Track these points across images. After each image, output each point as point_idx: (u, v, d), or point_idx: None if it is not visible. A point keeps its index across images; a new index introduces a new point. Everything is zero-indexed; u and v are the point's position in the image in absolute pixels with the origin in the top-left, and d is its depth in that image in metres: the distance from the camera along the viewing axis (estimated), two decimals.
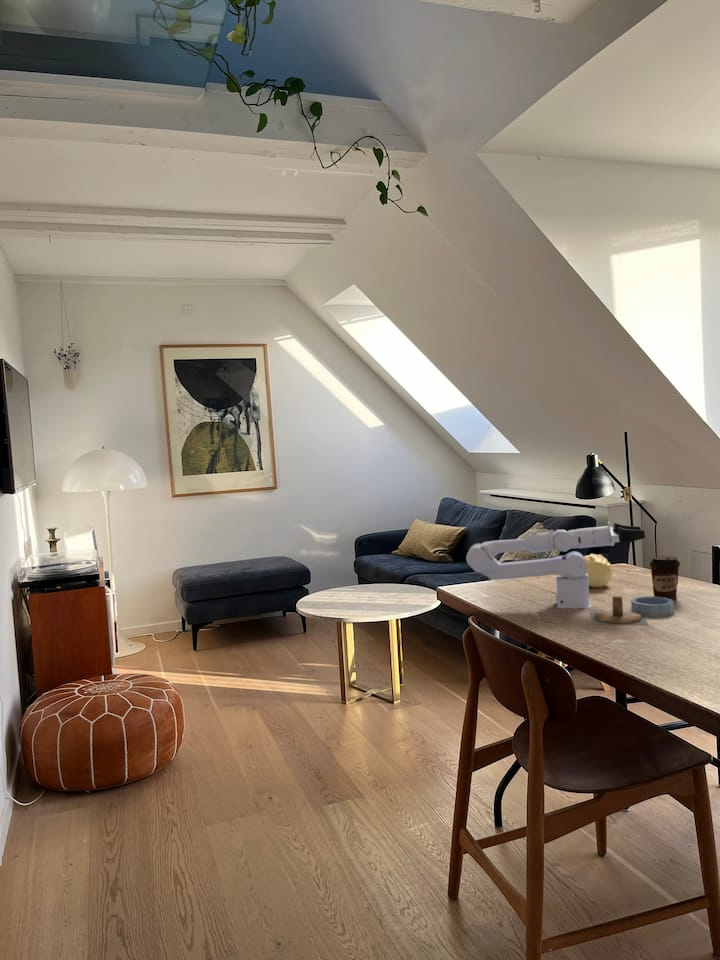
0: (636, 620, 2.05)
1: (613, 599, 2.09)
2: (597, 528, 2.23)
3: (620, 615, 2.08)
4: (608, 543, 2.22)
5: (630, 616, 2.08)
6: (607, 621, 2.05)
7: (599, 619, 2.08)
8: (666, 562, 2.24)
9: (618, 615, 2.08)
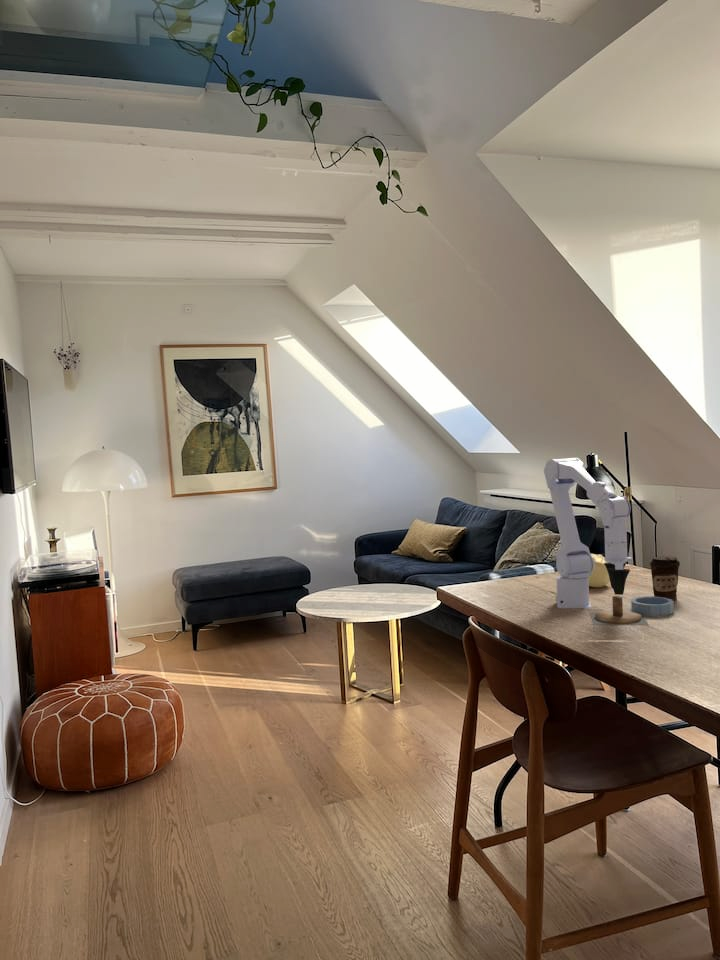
0: (636, 620, 2.05)
1: (613, 599, 2.09)
2: (626, 546, 2.07)
3: (620, 615, 2.08)
4: (609, 556, 2.07)
5: (630, 616, 2.08)
6: (607, 621, 2.05)
7: (599, 619, 2.08)
8: (666, 562, 2.24)
9: (618, 615, 2.08)
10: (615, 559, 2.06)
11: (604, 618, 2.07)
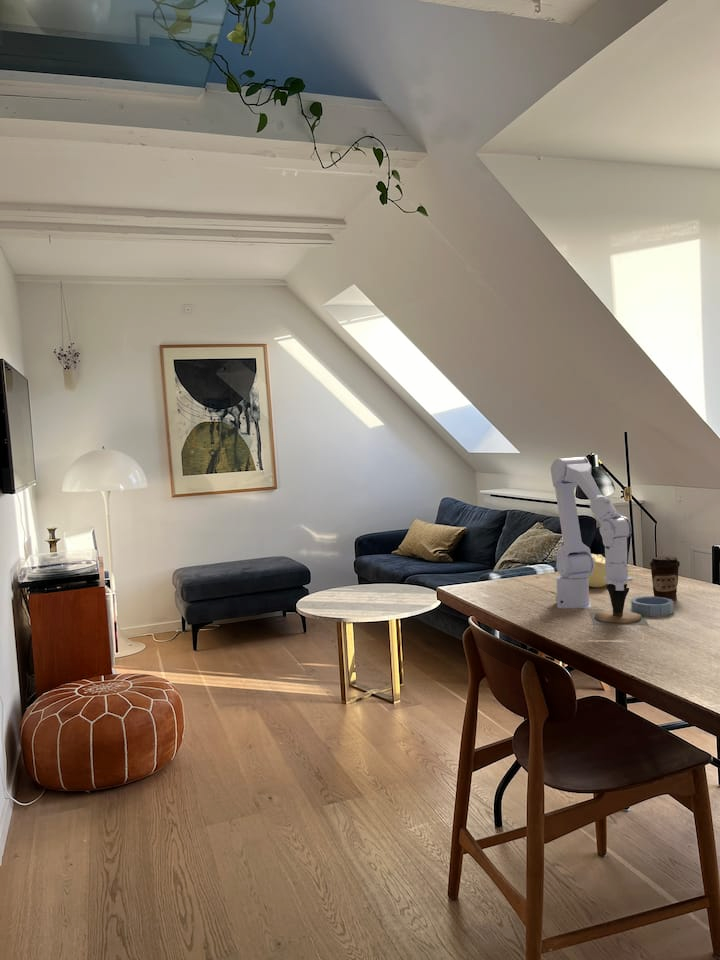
0: (636, 620, 2.05)
1: None
2: (626, 567, 2.07)
3: (620, 615, 2.08)
4: (609, 576, 2.07)
5: (630, 616, 2.08)
6: (607, 621, 2.05)
7: (599, 619, 2.08)
8: (666, 562, 2.24)
9: (618, 615, 2.08)
10: (616, 579, 2.06)
11: (604, 618, 2.07)
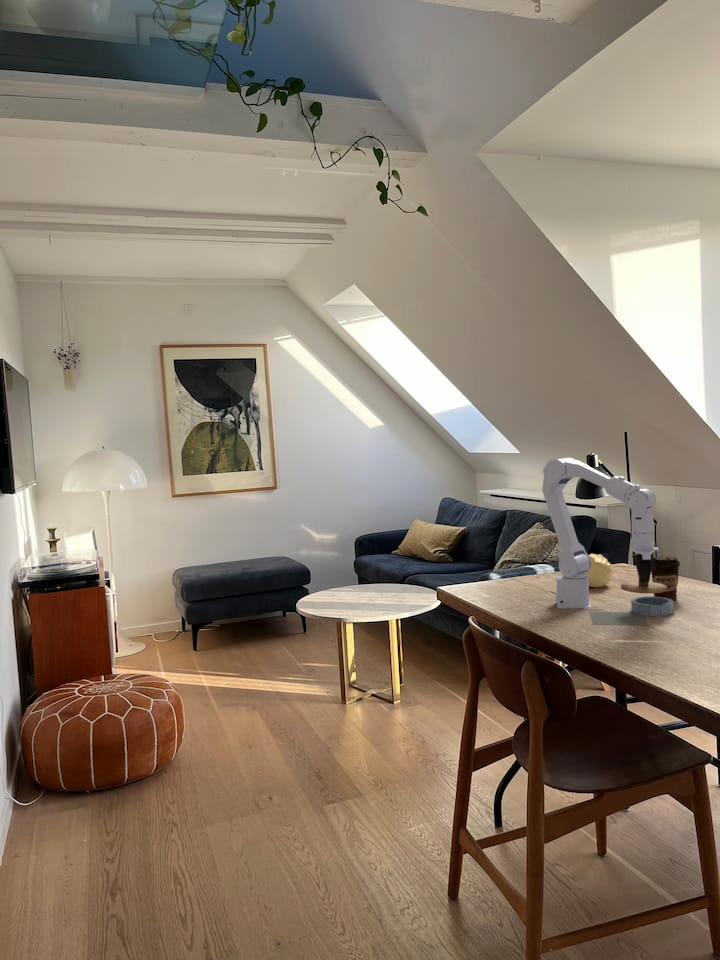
0: (663, 590, 2.09)
1: None
2: (653, 537, 2.11)
3: (646, 585, 2.12)
4: (636, 547, 2.11)
5: (656, 586, 2.12)
6: (635, 591, 2.09)
7: (626, 589, 2.11)
8: (666, 562, 2.24)
9: (644, 585, 2.12)
10: (642, 549, 2.10)
11: (631, 588, 2.11)
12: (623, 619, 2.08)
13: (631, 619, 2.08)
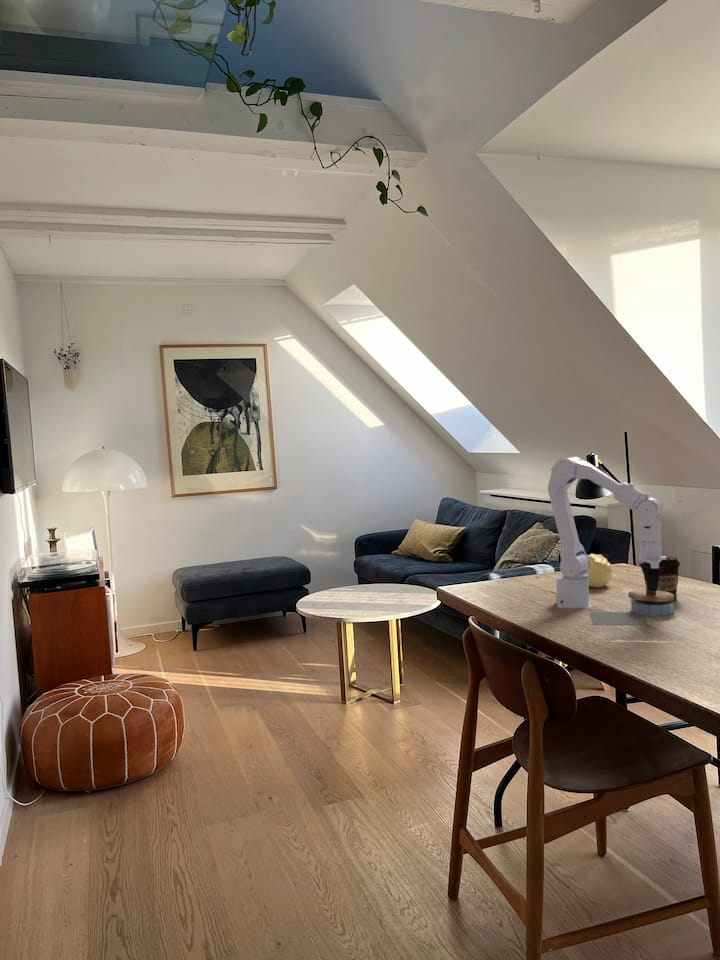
0: (671, 598, 2.10)
1: None
2: (661, 546, 2.12)
3: (654, 594, 2.14)
4: (644, 555, 2.13)
5: (663, 595, 2.13)
6: (643, 599, 2.10)
7: (634, 597, 2.13)
8: (666, 562, 2.24)
9: (652, 594, 2.14)
10: (650, 558, 2.12)
11: (639, 597, 2.12)
12: (623, 619, 2.08)
13: (631, 619, 2.08)
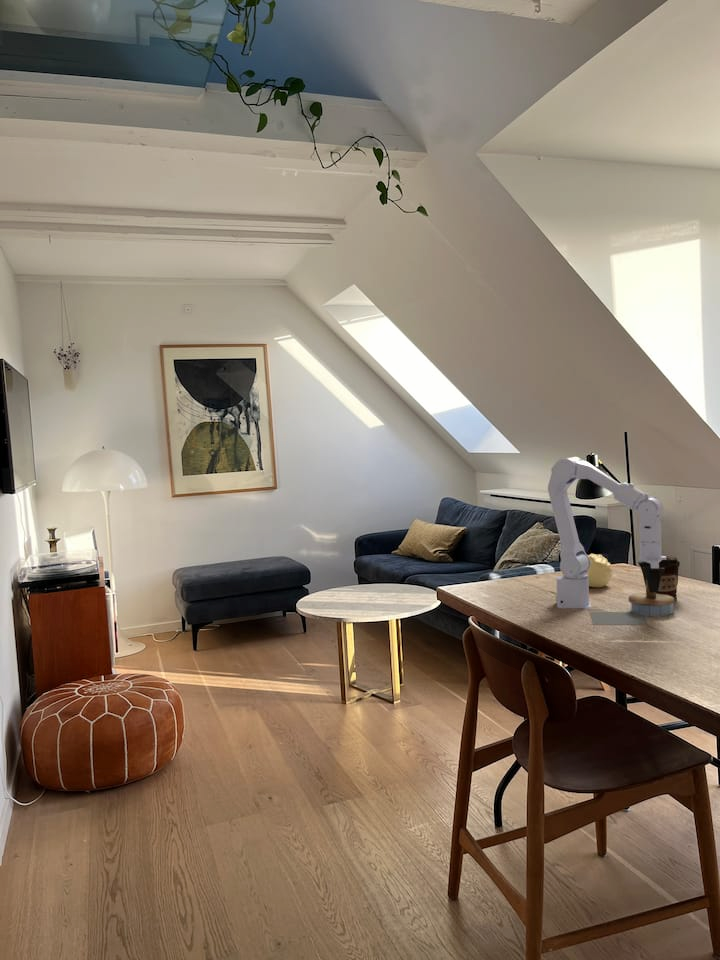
0: (671, 602, 2.10)
1: None
2: (661, 546, 2.12)
3: (654, 597, 2.14)
4: (644, 555, 2.13)
5: (663, 598, 2.13)
6: (643, 603, 2.10)
7: (634, 602, 2.13)
8: (666, 562, 2.24)
9: (652, 597, 2.14)
10: (650, 558, 2.12)
11: (639, 600, 2.12)
12: (623, 619, 2.08)
13: (631, 619, 2.08)
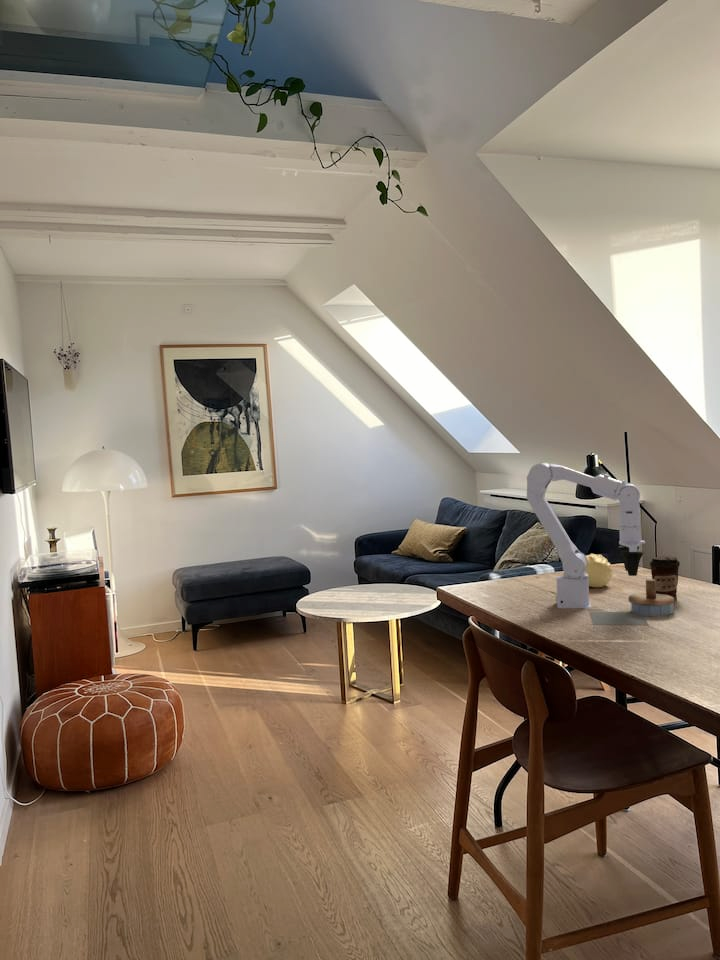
0: (671, 602, 2.10)
1: (647, 582, 2.14)
2: (639, 530, 2.19)
3: (654, 597, 2.14)
4: (623, 540, 2.19)
5: (663, 598, 2.13)
6: (643, 603, 2.10)
7: (634, 602, 2.13)
8: (666, 562, 2.24)
9: (652, 597, 2.14)
10: (629, 542, 2.18)
11: (639, 600, 2.12)
12: (623, 619, 2.08)
13: (631, 619, 2.08)
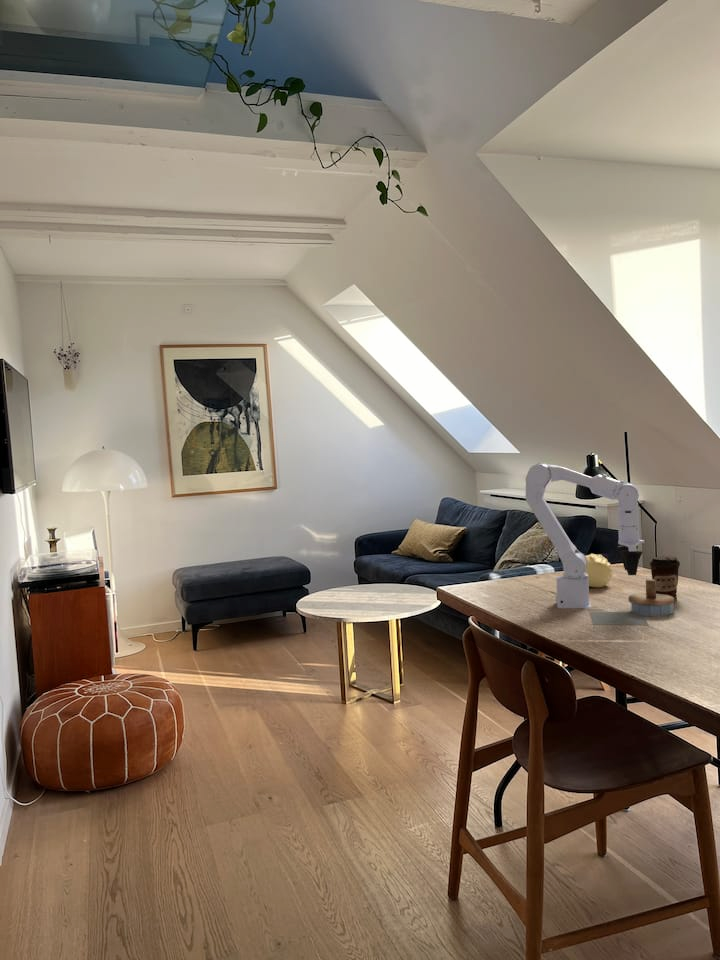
0: (671, 602, 2.10)
1: (647, 582, 2.14)
2: (638, 530, 2.19)
3: (654, 597, 2.14)
4: (622, 539, 2.19)
5: (663, 598, 2.13)
6: (643, 603, 2.10)
7: (634, 602, 2.13)
8: (666, 562, 2.24)
9: (652, 597, 2.14)
10: (628, 542, 2.18)
11: (639, 600, 2.12)
12: (623, 619, 2.08)
13: (631, 619, 2.08)
